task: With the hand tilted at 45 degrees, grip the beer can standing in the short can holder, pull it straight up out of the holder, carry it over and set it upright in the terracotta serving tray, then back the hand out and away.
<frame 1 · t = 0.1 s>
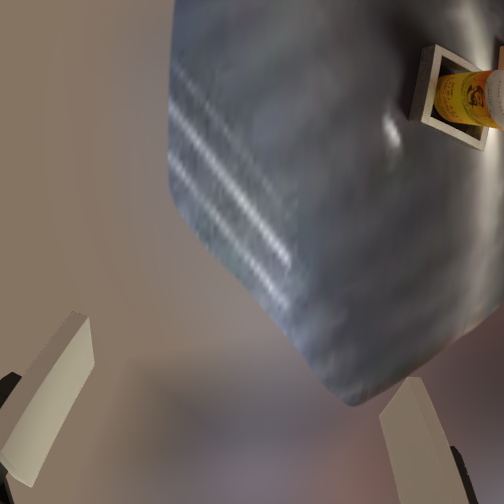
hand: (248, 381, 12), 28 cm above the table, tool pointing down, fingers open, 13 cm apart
beer can: (447, 98, 31), resting in can holder
can holder: (448, 98, 31), on the table
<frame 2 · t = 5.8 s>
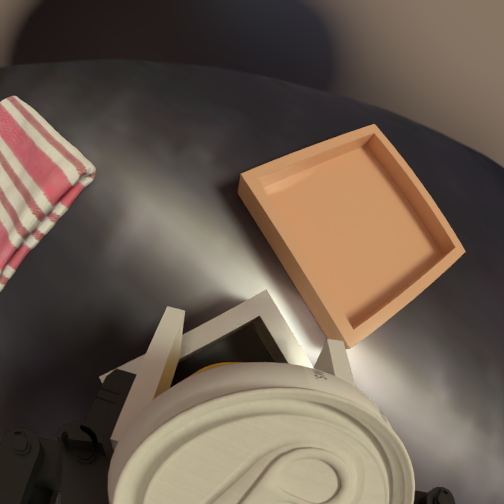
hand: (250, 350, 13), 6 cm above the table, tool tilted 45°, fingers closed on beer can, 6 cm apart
serving tray: (355, 229, 23), on the table
beer can: (227, 409, 18), resting in can holder, touching gripper
can holder: (227, 410, 18), on the table
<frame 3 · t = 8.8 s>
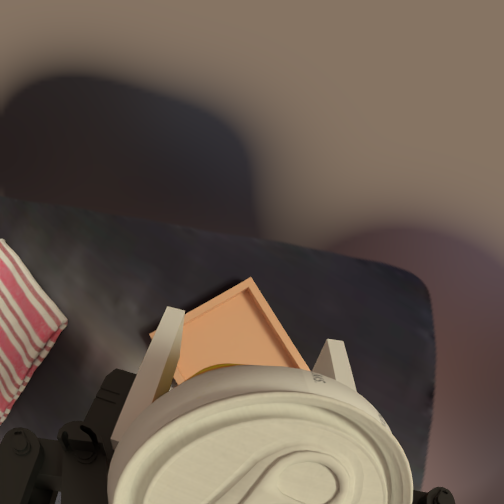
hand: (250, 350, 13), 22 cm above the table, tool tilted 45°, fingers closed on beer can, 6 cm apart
serving tray: (230, 357, 34), on the table
beer can: (227, 410, 18), point 16 cm above the table, touching gripper
when the fingers open (8 cm above the table, at t = 12.1 s): beer can drops 1 cm, resting on serving tray.
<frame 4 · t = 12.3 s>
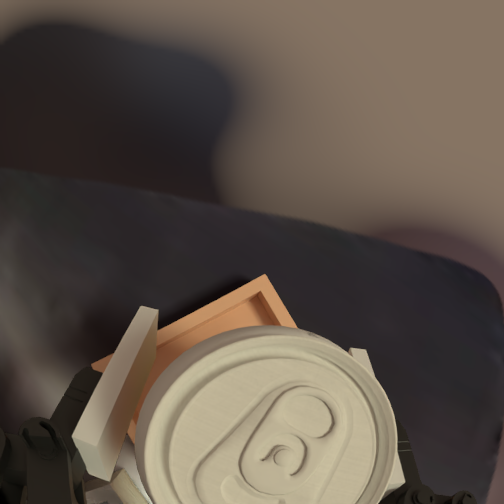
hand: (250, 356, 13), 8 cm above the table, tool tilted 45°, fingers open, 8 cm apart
serving tray: (226, 405, 20), on the table
beer can: (226, 407, 19), point 1 cm above the table, touching serving tray
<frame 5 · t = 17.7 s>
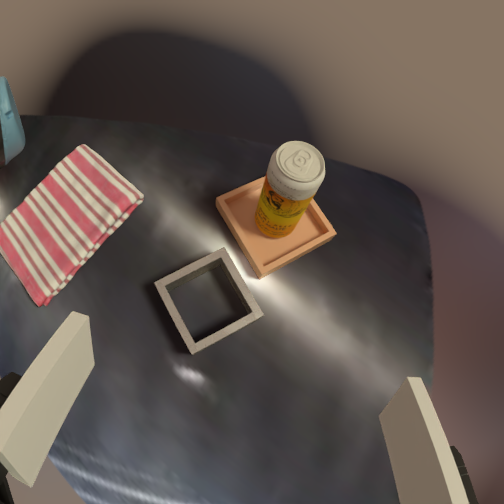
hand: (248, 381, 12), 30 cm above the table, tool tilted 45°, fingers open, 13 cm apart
serving tray: (274, 222, 47), on the table
beer can: (274, 221, 47), point 1 cm above the table, touching serving tray
can holder: (208, 304, 42), on the table
dish towel: (64, 221, 44), on the table
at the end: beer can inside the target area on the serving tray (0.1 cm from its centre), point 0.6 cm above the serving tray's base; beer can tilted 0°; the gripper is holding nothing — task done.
